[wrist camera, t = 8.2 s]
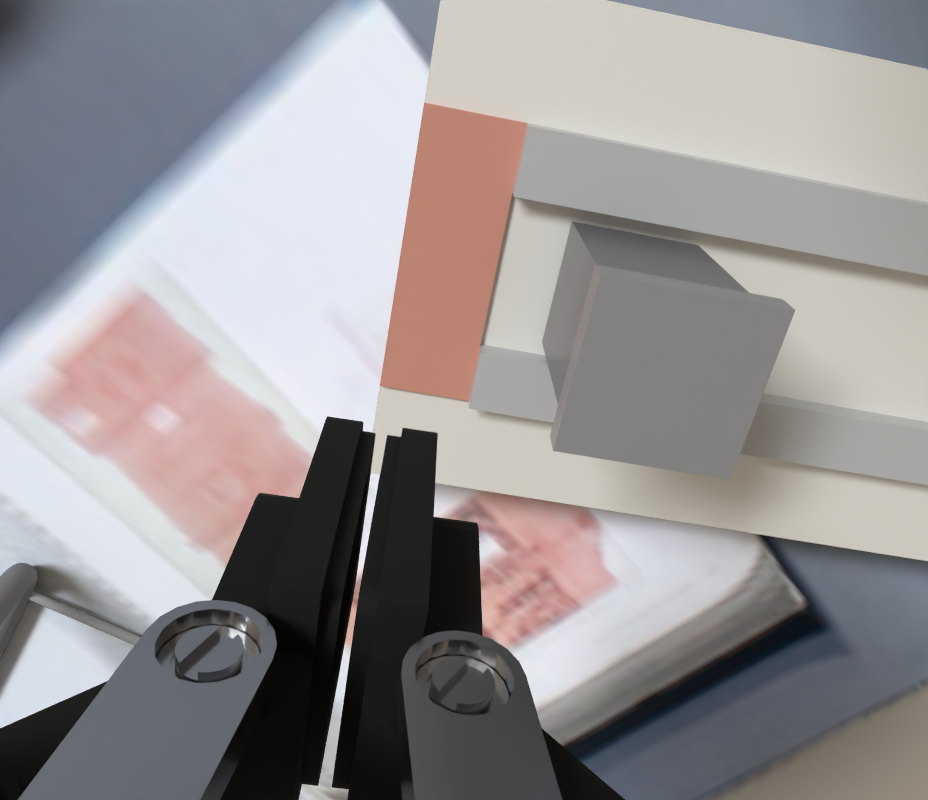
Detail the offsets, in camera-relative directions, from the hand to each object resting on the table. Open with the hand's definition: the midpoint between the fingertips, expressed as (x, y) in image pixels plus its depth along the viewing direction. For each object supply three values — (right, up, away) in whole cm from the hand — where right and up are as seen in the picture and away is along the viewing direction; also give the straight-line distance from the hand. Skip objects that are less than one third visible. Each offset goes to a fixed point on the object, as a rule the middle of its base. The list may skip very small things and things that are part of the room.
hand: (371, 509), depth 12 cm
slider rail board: (+13, +5, +16) cm, 22 cm away
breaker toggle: (+6, +5, +13) cm, 15 cm away
